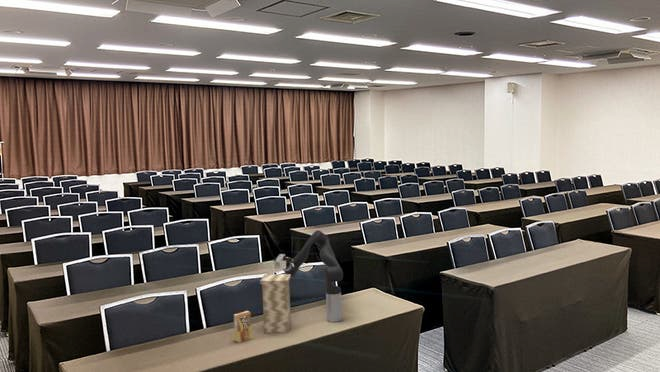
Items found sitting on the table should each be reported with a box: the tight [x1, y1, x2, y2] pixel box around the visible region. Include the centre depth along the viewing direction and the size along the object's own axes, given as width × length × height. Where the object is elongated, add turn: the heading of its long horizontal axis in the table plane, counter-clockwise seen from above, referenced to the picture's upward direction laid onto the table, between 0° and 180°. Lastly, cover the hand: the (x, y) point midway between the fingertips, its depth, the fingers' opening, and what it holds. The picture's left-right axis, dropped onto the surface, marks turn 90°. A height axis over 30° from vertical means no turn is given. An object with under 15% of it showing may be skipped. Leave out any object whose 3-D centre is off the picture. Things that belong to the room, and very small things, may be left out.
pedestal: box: [259, 273, 292, 334], centre depth 299 cm, size 16×14×31 cm
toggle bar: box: [268, 253, 286, 270], centre depth 318 cm, size 20×10×4 cm, turn 176°
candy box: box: [233, 310, 253, 343], centre depth 285 cm, size 9×4×15 cm, turn 129°
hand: (280, 257), depth 322 cm, fingers closed on toggle bar, 3 cm apart
